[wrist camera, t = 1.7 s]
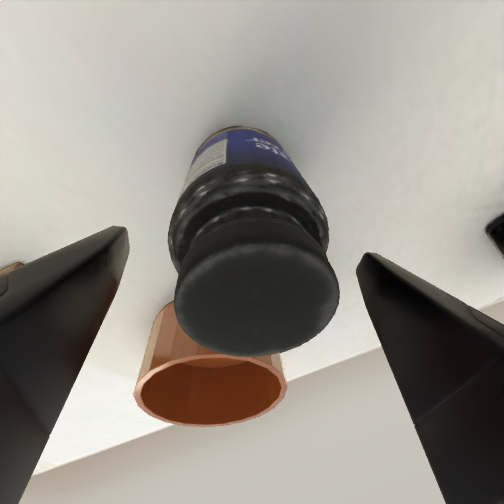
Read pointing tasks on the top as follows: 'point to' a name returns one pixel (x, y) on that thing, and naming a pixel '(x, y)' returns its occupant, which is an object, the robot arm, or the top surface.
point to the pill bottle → (250, 249)
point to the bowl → (203, 380)
